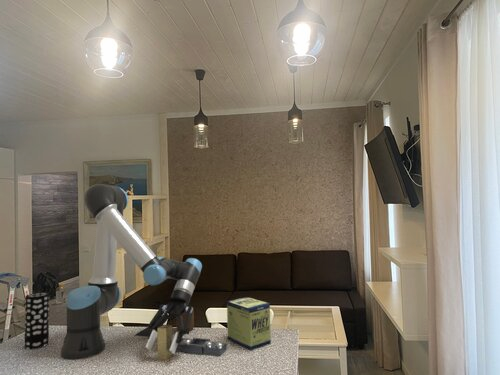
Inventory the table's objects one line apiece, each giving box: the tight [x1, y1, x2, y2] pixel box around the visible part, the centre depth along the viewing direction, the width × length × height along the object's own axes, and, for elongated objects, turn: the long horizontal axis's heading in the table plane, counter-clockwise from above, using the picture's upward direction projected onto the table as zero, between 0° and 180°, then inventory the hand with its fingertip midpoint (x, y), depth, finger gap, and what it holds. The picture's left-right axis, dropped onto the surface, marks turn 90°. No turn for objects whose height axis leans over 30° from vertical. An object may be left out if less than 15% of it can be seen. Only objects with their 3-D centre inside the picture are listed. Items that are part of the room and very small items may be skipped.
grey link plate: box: [172, 337, 228, 357], centre depth 131 cm, size 21×7×3 cm, turn 71°
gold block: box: [157, 324, 173, 362], centre depth 125 cm, size 4×4×11 cm
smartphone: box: [133, 326, 151, 339], centre depth 153 cm, size 8×1×15 cm
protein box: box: [226, 296, 272, 351], centre depth 139 cm, size 10×16×16 cm
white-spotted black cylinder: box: [23, 292, 50, 350], centre depth 141 cm, size 8×8×20 cm
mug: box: [175, 305, 195, 332], centre depth 153 cm, size 12×8×9 cm, turn 166°
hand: (159, 350), depth 122 cm, fingers open, 9 cm apart
